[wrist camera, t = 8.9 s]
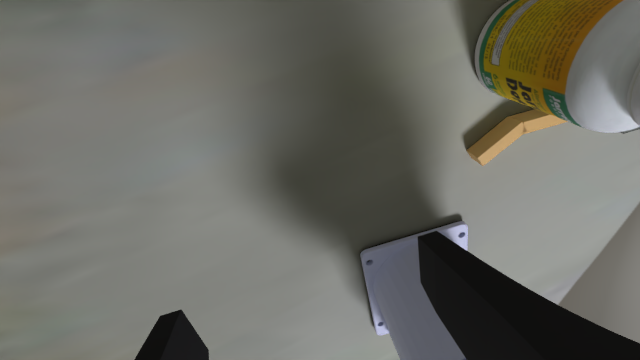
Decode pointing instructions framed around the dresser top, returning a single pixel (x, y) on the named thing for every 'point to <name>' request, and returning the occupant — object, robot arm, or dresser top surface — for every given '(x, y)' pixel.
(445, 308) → the robot arm
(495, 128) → the guard rails
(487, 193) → the dresser top surface
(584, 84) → the supplement bottle
